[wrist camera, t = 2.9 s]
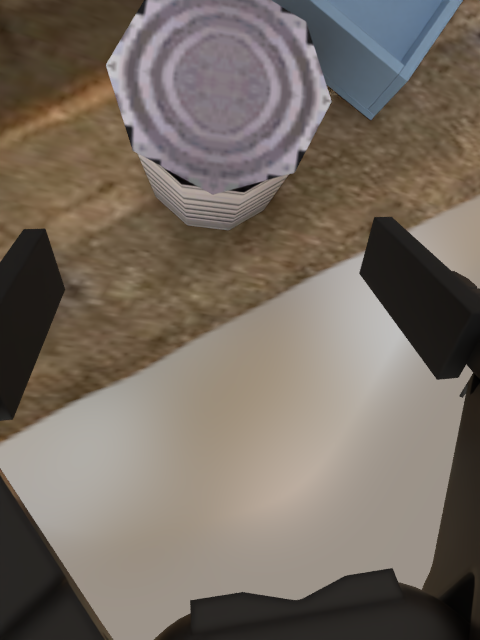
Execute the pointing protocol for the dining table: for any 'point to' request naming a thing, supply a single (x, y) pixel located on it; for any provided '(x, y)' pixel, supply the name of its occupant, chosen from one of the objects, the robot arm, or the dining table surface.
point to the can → (218, 103)
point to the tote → (371, 43)
